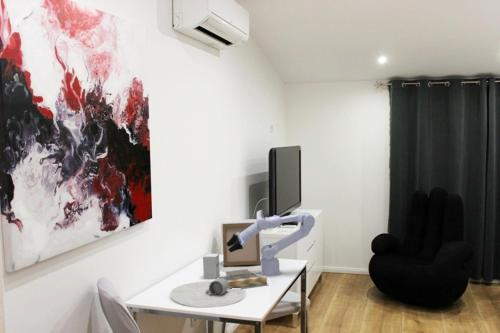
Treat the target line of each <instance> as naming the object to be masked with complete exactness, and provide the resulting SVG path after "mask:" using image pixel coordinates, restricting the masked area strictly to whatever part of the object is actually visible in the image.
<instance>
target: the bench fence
mask: <svg viewBox="0 0 500 333" xmlns="http://www.w3.org/2000/svg"><path fill="white" fill-rule="evenodd" d="M255 275H256V274H255ZM255 275H251V278H244V279H240V277H236V280H229V281H227V282H228V288H229V289H232V288H242V287H249V286H257V285H264V284H267V285H268V279H267V278H268V276H262V275H259V276H258V277H255ZM229 289H228V290H229Z"/></svg>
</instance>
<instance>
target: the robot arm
mask: <svg viewBox="0 0 500 333" xmlns="http://www.w3.org/2000/svg"><path fill="white" fill-rule="evenodd" d="M292 222H298V223H300V227H299V229H298V230H296V231H294V232H292V233H290V234H289V235H286V236H284V237H283V238H281V239H280V240H278V241H276V242H273V243H270V244H265V245H263V246H262V247H261V248H260V254H261V255H262V256H261V257H260V265H261V272H259V275H260V276H266V277H273V276H274V277H275V276H280V275H281V272H280V261H279V259H278V257H275V256H276V255H278V254H279V252H280V251H282V250H284V249H285V248H288V247H290V246H291V245H294V244H295V243H297V242H298V241H300V240H302V239H304V238H306V237H307V236H309V234H310V233H311V231H312V229H313V228H314V226H315V222H316V219H315V217H314V215H312V214H310V213H309V212H299V213H294V214H289V215H285V216H279V215H276V214H273V216H269V217H267V216H265V217H259V218H258V219H257V220H256V221H255V222H253V223H254V224H252V225H251V226H250V227H248V228H247V229H245V230H244V231H243V232H241V233H239V232H238V233H237V234H236V235H235V234H233V236H232V237H231V239H230V240H229V241H228V242H227V246H228V247H230V246H231V247H230V248H229V251H230V252H233V251H236V250H239V249H243V247H242V246H245V245H246V244H245V242H247V241H248V240H249V239H251V238H252V237H254V236H255V235H256V234H258V233H259V234H260V233H261V231H262V230H263V231H265V230H267V229H270V228H276V227H280V226H281V225H282V224H284V223H292Z"/></svg>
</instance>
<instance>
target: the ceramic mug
mask: <svg viewBox="0 0 500 333" xmlns="http://www.w3.org/2000/svg"><path fill="white" fill-rule="evenodd" d="M228 290H229V289H228V282H227V281H226V280H225V279H223V278H217V279H214V280H213V281H211V282H210V283H209V286H208V289H207V290H205V293H206V295H209V294H210V295H211V296H213V295H214V294H215V293H217V294H215V295H218V297H221V296H223V294H225V293H226V292H227V291H228ZM215 295H214V296H215Z"/></svg>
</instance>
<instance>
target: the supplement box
mask: <svg viewBox="0 0 500 333" xmlns="http://www.w3.org/2000/svg"><path fill="white" fill-rule="evenodd" d="M202 264H203V265H202V266H203V279H204V280H217V279H219V278H218V277H221V276H220V275H221V274H220V254H219V253H206V254H205V255H204V256H202Z"/></svg>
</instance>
